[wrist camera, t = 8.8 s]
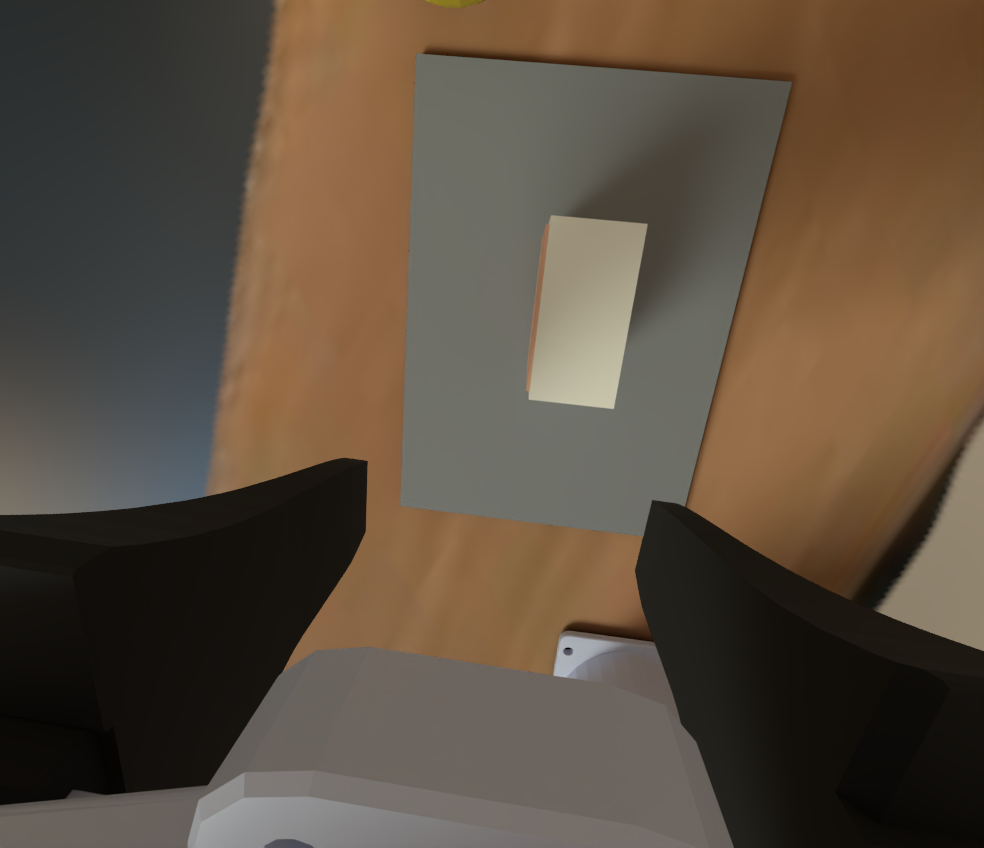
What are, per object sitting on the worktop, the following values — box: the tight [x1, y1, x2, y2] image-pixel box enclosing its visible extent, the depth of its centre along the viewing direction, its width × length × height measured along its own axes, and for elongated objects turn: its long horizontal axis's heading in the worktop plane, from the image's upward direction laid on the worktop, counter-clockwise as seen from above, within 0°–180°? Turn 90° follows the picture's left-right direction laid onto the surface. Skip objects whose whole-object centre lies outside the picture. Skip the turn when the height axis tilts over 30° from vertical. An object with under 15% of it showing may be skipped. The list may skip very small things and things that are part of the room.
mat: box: [400, 54, 792, 536], centre depth 19 cm, size 18×13×1 cm
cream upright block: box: [526, 215, 648, 409], centre depth 15 cm, size 3×5×6 cm, turn 175°
